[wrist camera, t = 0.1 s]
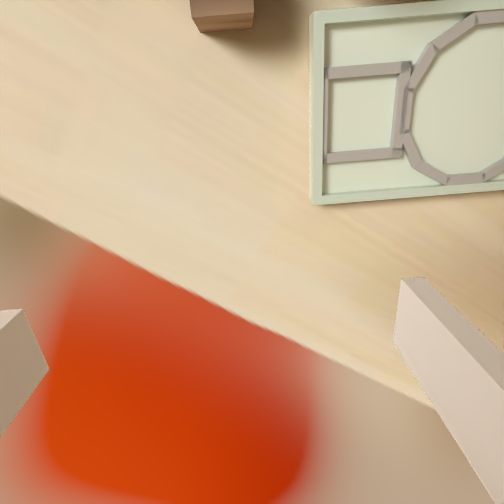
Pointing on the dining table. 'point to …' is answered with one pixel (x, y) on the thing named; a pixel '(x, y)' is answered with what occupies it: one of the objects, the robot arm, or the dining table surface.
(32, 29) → the dining table surface
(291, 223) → the dining table surface
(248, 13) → the block
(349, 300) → the dining table surface
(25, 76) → the dining table surface
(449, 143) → the tray
